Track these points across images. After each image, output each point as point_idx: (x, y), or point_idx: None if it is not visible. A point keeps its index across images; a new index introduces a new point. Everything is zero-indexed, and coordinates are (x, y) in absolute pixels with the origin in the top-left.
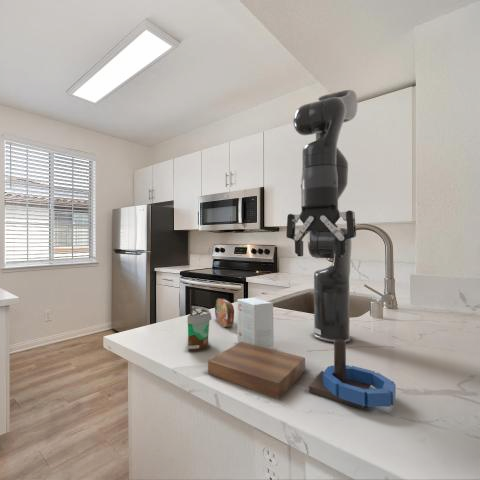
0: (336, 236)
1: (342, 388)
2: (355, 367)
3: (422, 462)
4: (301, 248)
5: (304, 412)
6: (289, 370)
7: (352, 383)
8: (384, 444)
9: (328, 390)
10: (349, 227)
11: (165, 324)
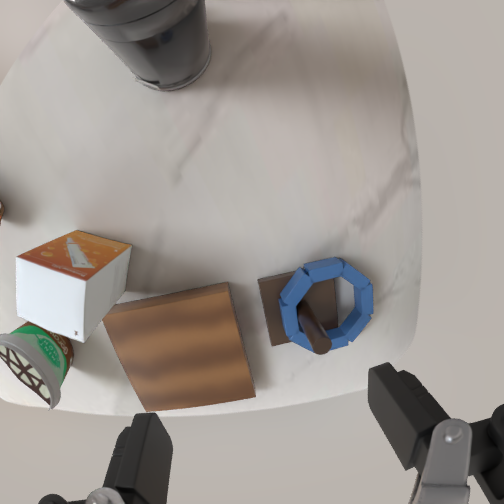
0: (413, 496)
1: None
2: (316, 273)
3: (387, 360)
4: (160, 467)
5: (289, 382)
6: (242, 358)
7: (312, 287)
8: (363, 364)
9: None
10: (501, 496)
11: None
